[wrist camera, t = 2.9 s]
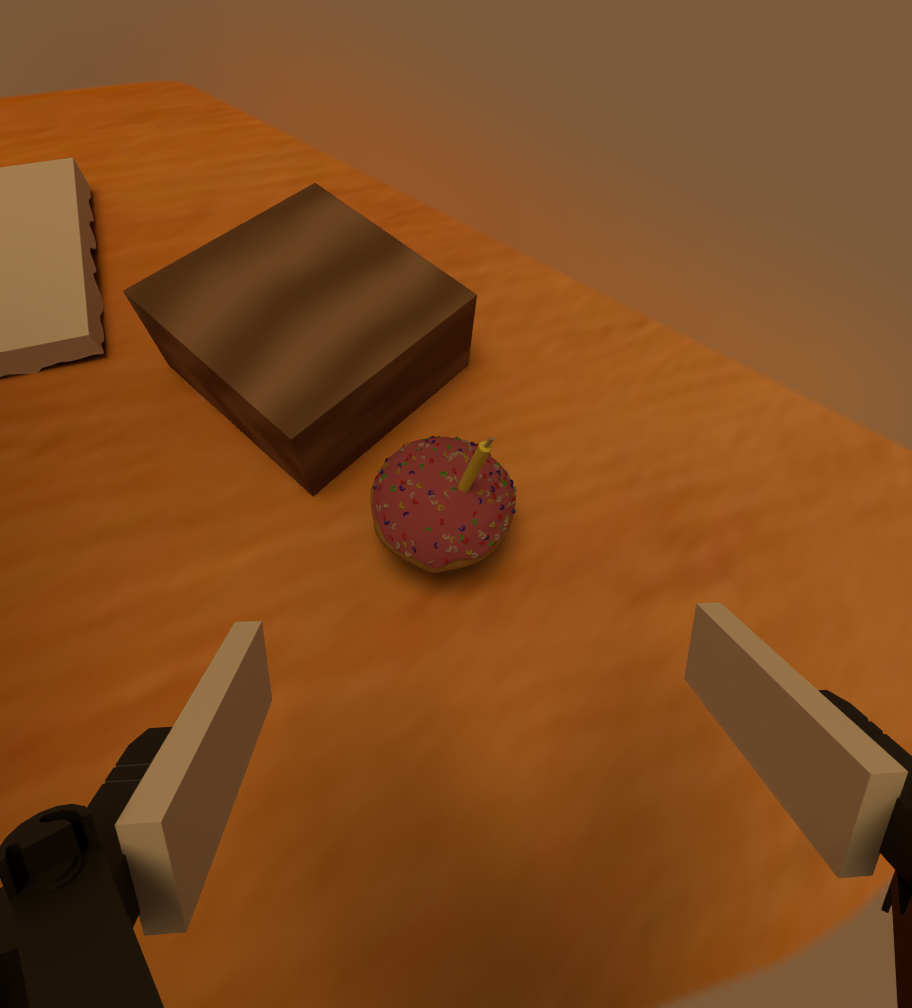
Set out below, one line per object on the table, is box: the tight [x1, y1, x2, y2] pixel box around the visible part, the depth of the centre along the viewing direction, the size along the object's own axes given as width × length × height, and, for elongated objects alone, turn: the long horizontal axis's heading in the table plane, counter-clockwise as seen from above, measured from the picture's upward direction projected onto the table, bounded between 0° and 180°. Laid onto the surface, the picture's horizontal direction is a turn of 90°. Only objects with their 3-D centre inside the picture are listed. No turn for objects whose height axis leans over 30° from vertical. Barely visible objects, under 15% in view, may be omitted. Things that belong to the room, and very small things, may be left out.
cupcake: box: [371, 436, 517, 573], centre depth 30 cm, size 9×8×12 cm
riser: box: [123, 183, 477, 496], centre depth 38 cm, size 16×16×7 cm
